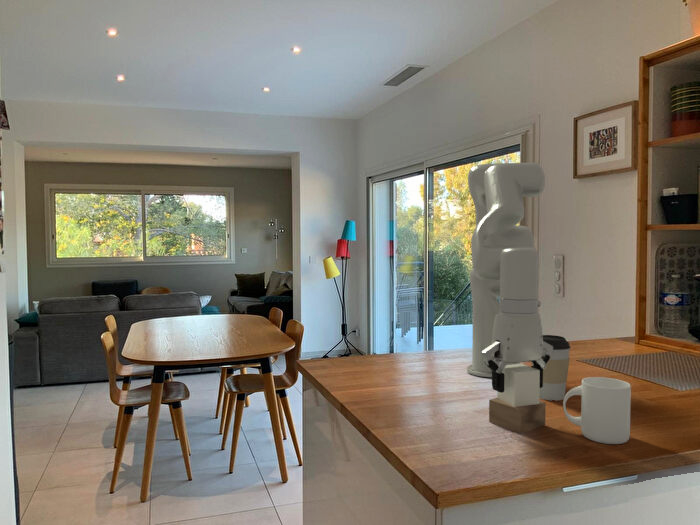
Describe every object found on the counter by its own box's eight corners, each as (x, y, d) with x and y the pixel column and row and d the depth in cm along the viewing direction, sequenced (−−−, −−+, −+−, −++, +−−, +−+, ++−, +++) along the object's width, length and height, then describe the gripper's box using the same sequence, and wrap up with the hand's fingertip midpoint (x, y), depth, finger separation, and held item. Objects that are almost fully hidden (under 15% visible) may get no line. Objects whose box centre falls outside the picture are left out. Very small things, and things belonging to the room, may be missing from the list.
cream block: (521, 395, 114) (521, 363, 114) (539, 404, 109) (539, 370, 108) (497, 398, 113) (497, 365, 112) (514, 406, 107) (514, 372, 107)
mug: (565, 423, 111) (566, 372, 110) (630, 433, 105) (631, 380, 105) (559, 437, 103) (560, 382, 103) (629, 448, 97) (630, 391, 97)
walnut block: (513, 415, 116) (513, 393, 116) (545, 426, 110) (545, 402, 110) (489, 423, 112) (489, 399, 112) (520, 434, 105) (520, 409, 105)
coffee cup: (568, 393, 133) (569, 333, 132) (571, 403, 124) (572, 340, 124) (530, 389, 136) (531, 331, 135) (530, 399, 127) (531, 337, 127)
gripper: (539, 303, 116) (538, 380, 117) (472, 306, 110) (472, 388, 111) (564, 307, 109) (563, 389, 110) (494, 311, 103) (493, 397, 104)
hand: (517, 388), depth 111 cm, fingers open, 9 cm apart
